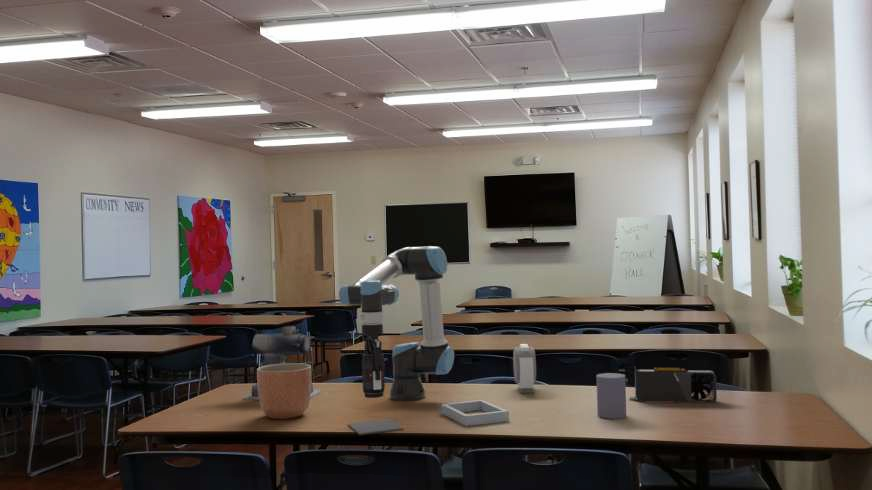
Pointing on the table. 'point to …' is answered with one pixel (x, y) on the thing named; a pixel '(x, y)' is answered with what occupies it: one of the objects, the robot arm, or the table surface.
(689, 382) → the graphics card
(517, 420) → the table surface
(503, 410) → the bin
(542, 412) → the table surface
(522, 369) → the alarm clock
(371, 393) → the camera lens
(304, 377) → the planter
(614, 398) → the container
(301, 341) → the grinder
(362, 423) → the mat
